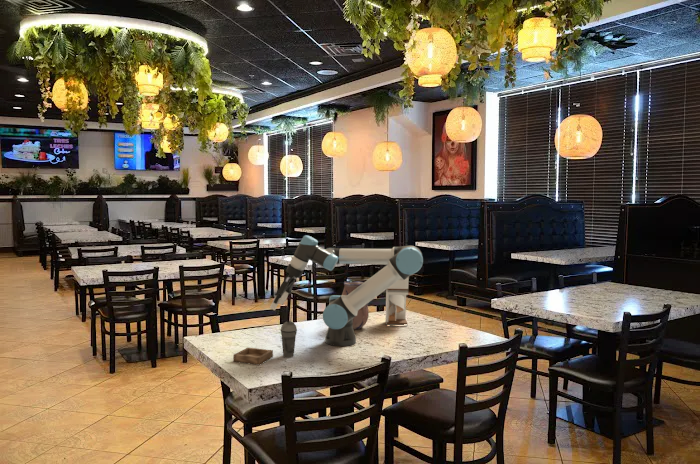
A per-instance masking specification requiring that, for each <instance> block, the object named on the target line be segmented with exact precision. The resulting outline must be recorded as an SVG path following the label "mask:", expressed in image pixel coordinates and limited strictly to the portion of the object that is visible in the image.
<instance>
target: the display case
mask: <svg viewBox="0 0 700 464" xmlns="http://www.w3.org/2000/svg"><path fill="white" fill-rule="evenodd" d="M409 279H410V276H409V277H408V278H406V279H405V280H398V281H397V282H395V283H394V284H393V285H391V286H390V287H389V288H387V289H386V290H385V291H386V292H385V324H387V325H404V324H407V325H408V321H407V319H406V318H407V317H406V314H407V313H406V312H407V309H406V308H407V296H409V283H410V282H409ZM387 325H386V326H387Z"/></svg>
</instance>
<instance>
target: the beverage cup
mask: <svg viewBox="0 0 700 464" xmlns="http://www.w3.org/2000/svg"><path fill="white" fill-rule="evenodd" d="M292 317H293V310H292V311H291V312H290V318H289V319H290V320H287V321H285V322H283V323H282V325H281V327H280V335H281V342H282V343H281V345H282V347H281V348H282V355H283V358H285V359H286V358H287V359H288V358H293V357H295V355H294V354H295V346H296V337H297V332H298V329H297V325H296V323H294V322H293V321H292Z"/></svg>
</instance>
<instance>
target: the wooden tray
mask: <svg viewBox="0 0 700 464" xmlns="http://www.w3.org/2000/svg"><path fill="white" fill-rule="evenodd" d="M273 354H274V350H273V349H265V348H255V347H246V348H244V349H242V350H240V351H239V352H238V351H237V352H236V353H233V361H232V362H234V363H239V362H240V363H241V364H248V363H250V364H249V365H256V364H259V365H258V366H260V364H261V365H262V364H264V363H266V362H267V361H268V360H270V359H272V358H274V355H273ZM265 361H266V362H265ZM263 362H264V363H263Z"/></svg>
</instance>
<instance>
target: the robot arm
mask: <svg viewBox="0 0 700 464" xmlns="http://www.w3.org/2000/svg"><path fill="white" fill-rule="evenodd" d="M318 243H319V241H318V239H316V238H314V237H312V236H310V235H308V234H307V235H306V234H305V235H303V236H302V239H301V240H300V241H299V243H298V246H297V248H296V249H295V251H294V254H293V256H291V257H290V258H291V259H290V262H289V264H288V265H287V268H286V269H285V271H286V273H288V275H287V276H285V277H284V280H283V281H282V283H281V285H280V286H279V288H278V290H277V291H276V292H275V293H274V298H273V300H272V302H271V304H270V306H269V309H271V310H273V311H276V309H277V307H278V305H279V304H280V305H281V306H283V305H284V304H285V302H286V300H287V298H288V296H289V294H291V293H292V289H293V287H294V284H295V281H296V279H297V278H299V279H300V278H301V276H302V275H303V273H304V270H306V267H307V265H308V264H309V261H311V262H312V263H313V262H314V263H315V264H317V265H319V266H320V267H321V268H323V269H326V270H328V271H330V272H331V271H333V270H334V269H335V267H336V266H337V265H340V264H341V265H343V264H344V265H385V266H383V268H382V269H380V270H379V271H377V272H376V273H375V274H373V275H372V276H371V277H369V278H368V279H366V281H363V282H364V283H363V284H361V285H360V286H359V287H357V288H356V289H355V290H353V291H352V292H351V293H350V294H348V295H342V294H341V295H337V294H336V295H330V296H329V300H328V303H329V304H328V305H327V306H325V308H324V310H323V312H322V320H323V322H324V325H326V327H328V328H327V331H326V334H325V337H324V338H325V339H324V342H325V344H327V345H330V346H335V347H336V346H337V347H347V346H352V345H355V344H357V337H356V333H355V331H354V330H355V329H353V318H354V317H355V316H357V313H358V310H359V309H361V308H362V307H363V306H365V305H366V304H367V303H368V304H369V303H370V302H372V301H373V300H374V299H376V297H378V296H379V295H381V294H382V293H384V292H385V291H386V289H387V288H389V287H390V286H391V285H393V284H394V283H395V282H397V281H398V280H405V279H406V278H408V277H409V278H410V277H411V275H414V274H416V273H418V272H419V271H420V270H421V268H422V267H423V264H424V256H423V253H422V251H421V249H420V248H419V247H418V246H416V245H415V246H414V245H411V244H410V245H403V246H402V245H401V246H393V247H392V248H342V247H341V248H334V247H327V248H325V249H324V248H323V247H320V246H319V245H318Z"/></svg>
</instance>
